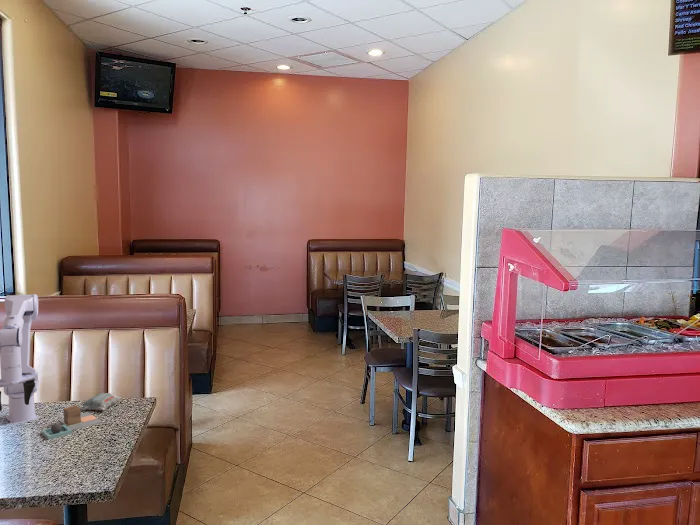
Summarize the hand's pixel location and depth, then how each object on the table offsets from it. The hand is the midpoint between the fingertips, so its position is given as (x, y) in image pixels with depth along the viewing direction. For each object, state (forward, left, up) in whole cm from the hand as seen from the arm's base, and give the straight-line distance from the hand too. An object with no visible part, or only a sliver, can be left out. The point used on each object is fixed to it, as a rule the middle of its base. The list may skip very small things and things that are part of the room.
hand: (13, 406), depth 178 cm
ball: (+8, +10, -9) cm, 16 cm away
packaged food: (-6, +30, -10) cm, 32 cm away
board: (+3, +19, -10) cm, 22 cm away
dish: (+8, +10, -10) cm, 16 cm away
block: (+3, +17, -9) cm, 19 cm away
